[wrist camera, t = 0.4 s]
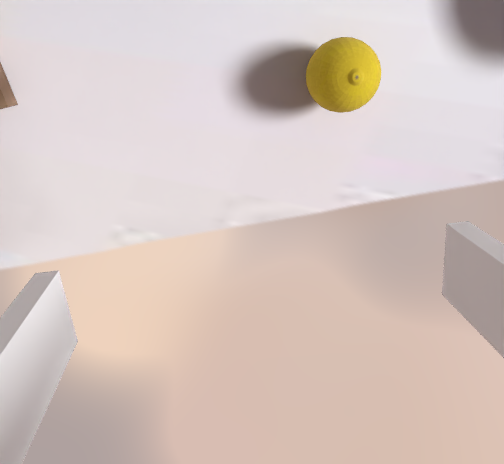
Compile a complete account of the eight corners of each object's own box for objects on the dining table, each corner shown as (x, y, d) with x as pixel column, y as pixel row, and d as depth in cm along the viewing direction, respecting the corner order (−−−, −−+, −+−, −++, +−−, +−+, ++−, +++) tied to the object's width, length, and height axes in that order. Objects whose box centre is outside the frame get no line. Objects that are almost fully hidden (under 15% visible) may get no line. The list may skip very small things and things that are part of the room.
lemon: (310, 30, 39) (334, 23, 31) (370, 51, 40) (408, 48, 32) (289, 97, 40) (307, 105, 33) (348, 115, 41) (378, 127, 34)
